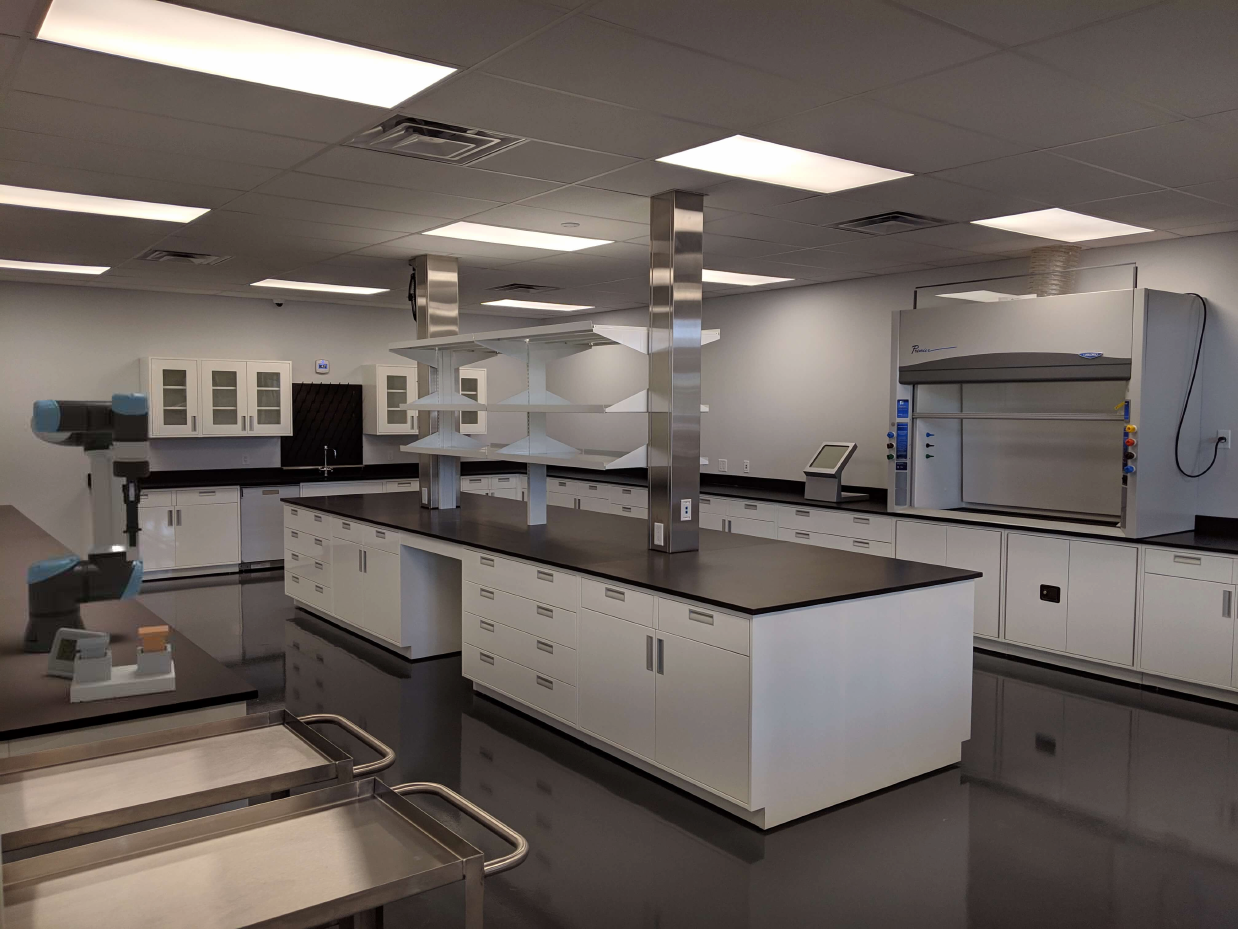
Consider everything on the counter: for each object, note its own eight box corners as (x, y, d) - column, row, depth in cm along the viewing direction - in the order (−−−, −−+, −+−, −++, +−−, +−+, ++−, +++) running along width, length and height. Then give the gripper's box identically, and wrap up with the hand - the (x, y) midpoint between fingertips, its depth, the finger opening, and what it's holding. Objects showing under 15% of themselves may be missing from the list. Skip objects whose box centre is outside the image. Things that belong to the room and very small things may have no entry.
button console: (75, 684, 204) (74, 649, 204) (173, 673, 214) (172, 639, 213) (70, 703, 191) (69, 666, 191) (175, 690, 200) (174, 654, 200)
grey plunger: (78, 674, 200) (78, 639, 200) (109, 671, 203) (108, 636, 203) (77, 681, 195) (76, 645, 195) (108, 678, 198) (107, 642, 198)
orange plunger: (139, 662, 206) (138, 628, 206) (168, 659, 209) (168, 625, 208) (139, 668, 201) (138, 633, 200) (169, 665, 204) (168, 630, 203)
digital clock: (42, 675, 212) (41, 630, 211) (82, 666, 219) (81, 623, 219) (78, 686, 203) (77, 640, 203) (118, 676, 211) (117, 632, 210)
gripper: (113, 457, 212) (115, 556, 214) (112, 462, 201) (114, 565, 203) (148, 457, 216) (150, 554, 218) (149, 461, 205) (151, 563, 206)
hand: (133, 559), depth 210 cm, fingers closed
